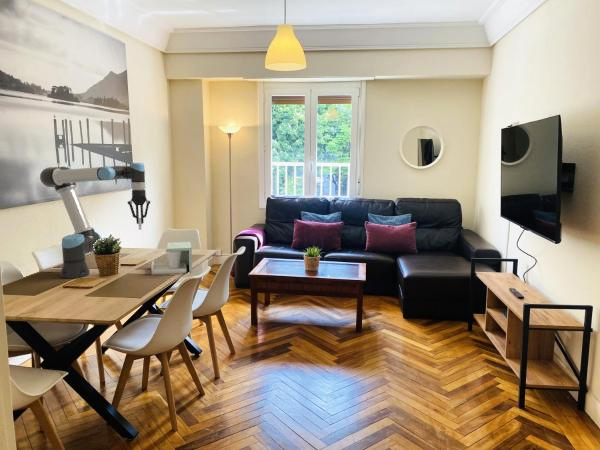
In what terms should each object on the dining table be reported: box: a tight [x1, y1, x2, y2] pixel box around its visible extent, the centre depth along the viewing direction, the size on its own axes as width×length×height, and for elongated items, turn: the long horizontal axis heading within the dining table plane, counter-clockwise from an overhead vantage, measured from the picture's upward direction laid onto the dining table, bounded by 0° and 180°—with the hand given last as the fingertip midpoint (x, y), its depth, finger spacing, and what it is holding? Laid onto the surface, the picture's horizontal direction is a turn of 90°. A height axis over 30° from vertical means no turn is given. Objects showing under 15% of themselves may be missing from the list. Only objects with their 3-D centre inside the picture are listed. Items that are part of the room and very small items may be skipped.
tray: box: [150, 259, 188, 276], centre depth 270 cm, size 20×16×5 cm
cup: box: [165, 249, 182, 268], centre depth 273 cm, size 10×10×11 cm
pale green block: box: [166, 241, 193, 274], centre depth 272 cm, size 14×19×16 cm
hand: (140, 229), depth 262 cm, fingers closed
